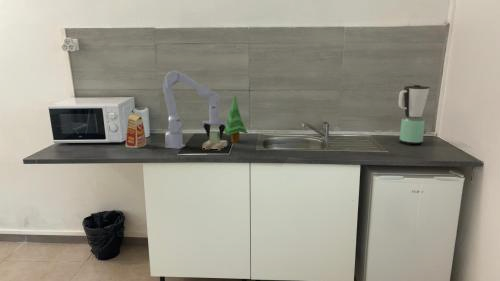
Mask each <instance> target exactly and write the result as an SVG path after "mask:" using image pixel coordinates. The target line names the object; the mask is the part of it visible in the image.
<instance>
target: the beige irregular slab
mask: <svg viewBox="0 0 500 281" xmlns="http://www.w3.org/2000/svg"><path fill="white" fill-rule="evenodd" d="M224 147H225V148H226V147H228V140H224V139H223V140H222V139H220V142H219V143H217V144H216V143H210V139H208V140H207V141H205V142H203V143H202V149H203V148H205V149H204V150H210V149H218V150H217V151H222V150H223V149H225V148H224ZM222 148H223V149H222ZM221 149H222V150H221Z"/></svg>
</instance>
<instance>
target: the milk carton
mask: <svg viewBox="0 0 500 281" xmlns="http://www.w3.org/2000/svg"><path fill="white" fill-rule="evenodd" d="M126 125H127V126H126V136H125V147H126V148H132V149H135V148H136V149H137V148H141V147H145V146H146V145H147V138H146V133H145V127H144V121H143V118H142V115H141V114H137V113H134V112H130V115H129V116H128V118H127V124H126Z"/></svg>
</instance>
